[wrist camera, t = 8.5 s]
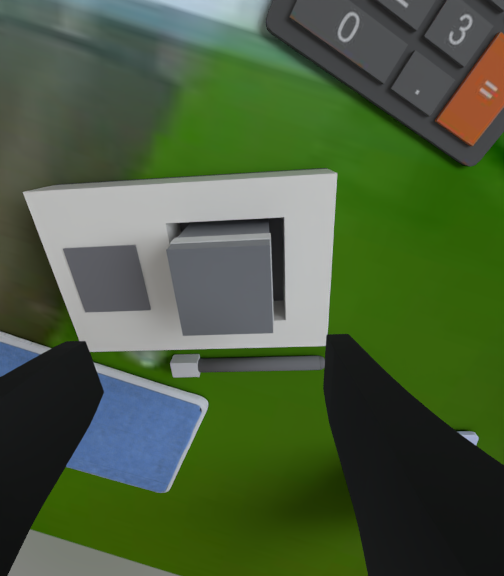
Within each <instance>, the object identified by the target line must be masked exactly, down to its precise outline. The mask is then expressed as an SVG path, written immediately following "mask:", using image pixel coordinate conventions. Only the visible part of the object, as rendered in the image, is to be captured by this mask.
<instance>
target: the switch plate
mask: <svg viewBox="0 0 504 576" xmlns="http://www.w3.org/2000/svg"><path fill="white" fill-rule="evenodd" d="M336 185H337V173H336V172H333V171H331V170H329V169H327V168H318V169H301V170H285V171H268V172H252V173H236V174H219V175H203V176H187V177H170V178H154V179H137V180H121V181H105V182H88V183H72V184H57V185H53V186H48V187H44V188H39V189H34V190H30V191H25V192H23V194H24V197H25V199H26V202H27V205H28V207H29V210H30V212H31V215H32V218H33V220H34V223H35V226H36V228H37V231H38V233H39V236H40V239H41V241H42V244H43V247H44V249H45V252H46V254H47V257H48V260H49V262H50V265H51V268H52V270H53V273H54V275H55V278H56V281H57V283H58V286H59V289H60V291H61V294H62V296H63V299H64V302H65V304H66V307H67V310H68V312H69V315H70V317H71V320H72V323H73V325H74V328H75V331H76V333H77V336H78V339H79V341H86V344H87V346H88V349H89V352H104V351H144V350H183V349H223V348H263V347H303V346H326V335H328V319H329V302H330V285H331V268H332V252H333V235H334V218H335V201H336ZM261 218H269V233H271V254H272V282H273V310H274V325H273V333H263V334H229V335H195V336H183V334H182V329H181V324H180V319H179V313H178V308H177V303H176V298H175V293H174V288H173V283H172V278H171V273H170V268H169V263H168V257H167V252H166V249H167V248H168V247H169V246H170V242H171V241H172V240H173V239H174V238H177V237H178V236H179V235H180V234H181V233H182V232H183V230H184V229H185V228H186V227H187V226H188V225H189V224H190V223H191V222H203V221H222V220H242V219H261Z"/></svg>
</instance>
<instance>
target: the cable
mask: <svg viewBox="0 0 504 576" xmlns="http://www.w3.org/2000/svg"><path fill="white" fill-rule="evenodd" d="M170 366H171V370H172V374H173V377H199V376H200V373H201V372H235V371H284V370H321V369H323V368H324V367H325V359H324V358H323V357H321V356H287V357H244V358H201V359H200V354H180V355H173V357H172V360H171V362H170Z"/></svg>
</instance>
